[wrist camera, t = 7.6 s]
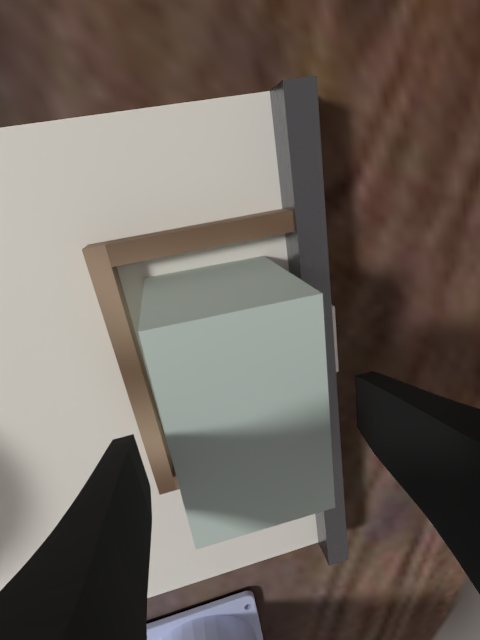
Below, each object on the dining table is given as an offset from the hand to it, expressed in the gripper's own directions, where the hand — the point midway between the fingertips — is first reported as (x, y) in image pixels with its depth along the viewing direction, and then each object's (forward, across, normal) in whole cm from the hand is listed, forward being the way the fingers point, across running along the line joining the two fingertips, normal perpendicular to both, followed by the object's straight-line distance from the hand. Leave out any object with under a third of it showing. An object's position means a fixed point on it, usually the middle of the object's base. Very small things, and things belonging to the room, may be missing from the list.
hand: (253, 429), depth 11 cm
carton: (+6, 0, 0) cm, 6 cm away
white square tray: (+6, +5, +2) cm, 8 cm away
